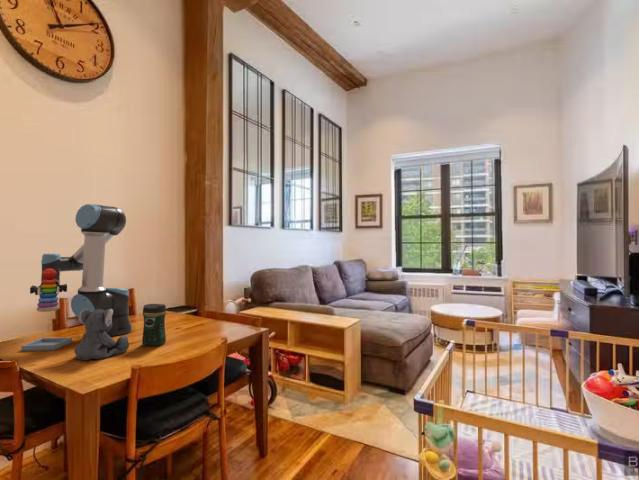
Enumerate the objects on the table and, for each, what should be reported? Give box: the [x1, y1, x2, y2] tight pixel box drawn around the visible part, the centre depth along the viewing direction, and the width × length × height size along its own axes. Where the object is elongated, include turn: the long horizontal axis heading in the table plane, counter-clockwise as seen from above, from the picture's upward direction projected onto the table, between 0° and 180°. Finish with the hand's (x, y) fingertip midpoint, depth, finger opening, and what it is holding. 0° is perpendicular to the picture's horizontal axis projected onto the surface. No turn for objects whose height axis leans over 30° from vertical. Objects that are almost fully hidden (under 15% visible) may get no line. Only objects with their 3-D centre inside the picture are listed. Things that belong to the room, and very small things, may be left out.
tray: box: [20, 337, 73, 352], centre depth 158 cm, size 13×13×2 cm
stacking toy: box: [36, 269, 60, 313], centre depth 158 cm, size 8×8×19 cm
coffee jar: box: [141, 303, 167, 347], centre depth 164 cm, size 10×8×19 cm
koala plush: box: [73, 309, 130, 361], centre depth 147 cm, size 17×18×20 cm
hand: (48, 291), depth 154 cm, fingers closed on stacking toy, 6 cm apart
